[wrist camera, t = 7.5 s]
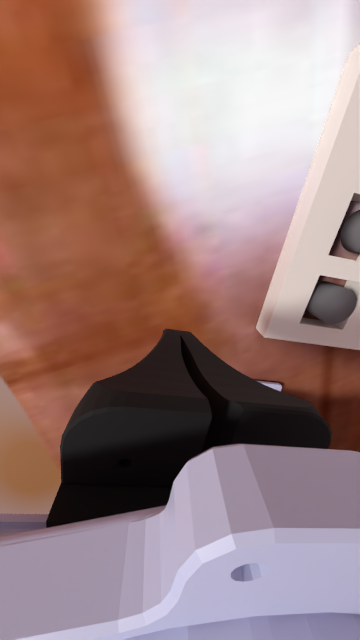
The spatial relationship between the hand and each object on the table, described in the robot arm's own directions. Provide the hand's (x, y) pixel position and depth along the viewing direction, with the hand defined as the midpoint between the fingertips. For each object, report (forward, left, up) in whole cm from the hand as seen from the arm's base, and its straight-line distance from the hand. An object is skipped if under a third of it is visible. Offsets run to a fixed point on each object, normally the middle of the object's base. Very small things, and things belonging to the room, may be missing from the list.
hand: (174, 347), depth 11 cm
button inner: (+2, -14, -9) cm, 17 cm away
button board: (+8, -14, -9) cm, 19 cm away
